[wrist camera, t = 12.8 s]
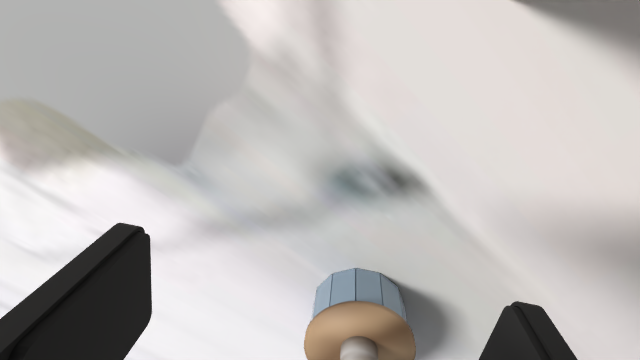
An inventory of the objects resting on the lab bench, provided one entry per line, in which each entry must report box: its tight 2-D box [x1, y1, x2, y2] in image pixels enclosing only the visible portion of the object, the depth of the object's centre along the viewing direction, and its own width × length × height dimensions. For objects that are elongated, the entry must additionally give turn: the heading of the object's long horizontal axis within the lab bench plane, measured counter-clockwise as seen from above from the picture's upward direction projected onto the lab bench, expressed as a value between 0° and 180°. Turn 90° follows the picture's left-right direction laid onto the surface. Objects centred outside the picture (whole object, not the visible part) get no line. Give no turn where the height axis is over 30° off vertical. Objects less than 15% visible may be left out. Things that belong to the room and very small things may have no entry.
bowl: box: [311, 268, 407, 322], centre depth 42 cm, size 11×11×6 cm
